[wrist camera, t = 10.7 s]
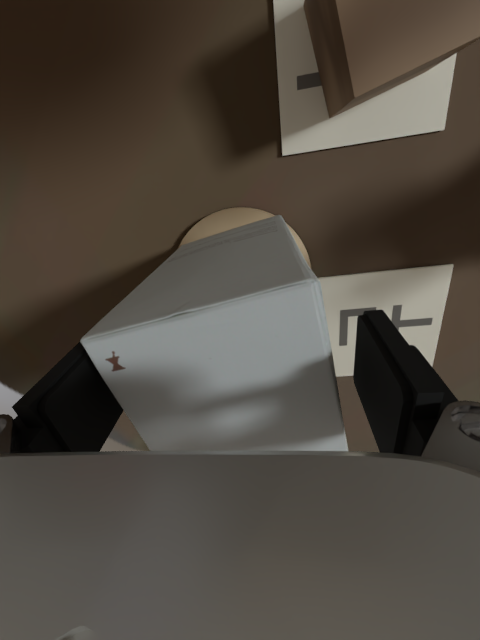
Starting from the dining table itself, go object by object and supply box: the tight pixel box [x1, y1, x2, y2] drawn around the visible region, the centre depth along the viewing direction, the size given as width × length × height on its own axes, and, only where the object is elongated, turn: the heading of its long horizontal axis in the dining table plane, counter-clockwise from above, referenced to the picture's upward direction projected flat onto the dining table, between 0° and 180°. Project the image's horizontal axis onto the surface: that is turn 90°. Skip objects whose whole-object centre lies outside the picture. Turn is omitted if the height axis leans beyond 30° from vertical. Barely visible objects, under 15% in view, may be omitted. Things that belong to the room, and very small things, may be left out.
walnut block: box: [303, 0, 480, 119], centre depth 12 cm, size 5×5×5 cm
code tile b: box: [273, 0, 457, 156], centre depth 14 cm, size 9×9×1 cm
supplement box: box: [80, 215, 348, 451], centre depth 15 cm, size 7×7×13 cm
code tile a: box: [318, 264, 454, 376], centre depth 22 cm, size 9×9×1 cm
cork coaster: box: [178, 207, 311, 269], centre depth 21 cm, size 10×10×1 cm
